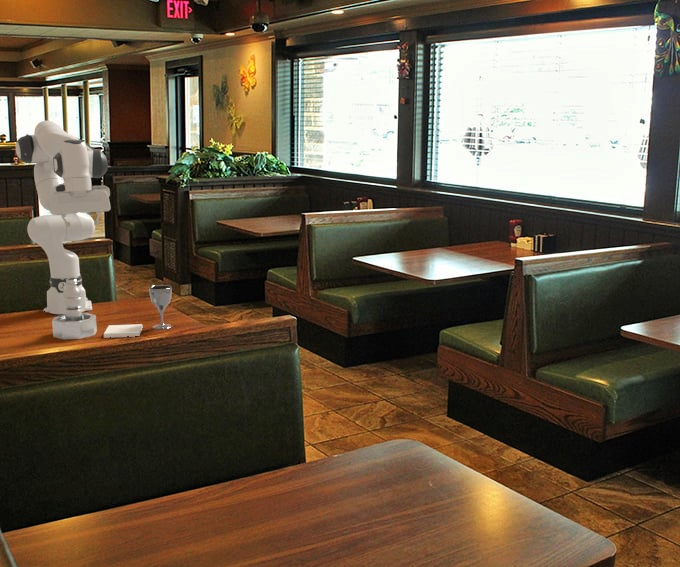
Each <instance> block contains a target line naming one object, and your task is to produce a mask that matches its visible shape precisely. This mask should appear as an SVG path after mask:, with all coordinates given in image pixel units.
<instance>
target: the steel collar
mask: <svg viewBox="0 0 680 567" xmlns="http://www.w3.org/2000/svg"><path fill="white" fill-rule="evenodd" d="M82 319H83V320H81V321H68V322H66V314H59V315H57V316H54V317H53V319H52V320H51V325H52V336H53V338H56V339H59V340H80V339H81V340H82V339H84V338H85V339H86V338H89V337H93V336H95V335H96V333H97V332H98V327H97V315H96V314H92V313H89V312H82Z"/></svg>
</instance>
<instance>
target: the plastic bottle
mask: <svg viewBox="0 0 680 567" xmlns="http://www.w3.org/2000/svg"><path fill="white" fill-rule="evenodd" d="M76 284H77V279H76V278H69V279H66V285H67V287H66V288H65V290H64V292H63V297H64V302H65V309H66V322H68V321H81V320H83V319H82V313H83V312H81V299H82V293H81V290H80V289H79V288H78V286H77V285H76Z"/></svg>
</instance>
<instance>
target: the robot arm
mask: <svg viewBox="0 0 680 567" xmlns="http://www.w3.org/2000/svg"><path fill="white" fill-rule="evenodd" d="M33 132H34V134H28V133H27V134H26V135H24V136H21V137H19V138H18V139H17V140H16V144H15V153H16V156H17V157H18V158H19V161H20V162H22V163H24V164H32V163H34V164H35V165H34V167H33V177H34V178H33V179H34V183H35V189H36V191H37V192H36V193H37V196H38V200H39V204H40V205H41V206H42V208H43V209H45V210H46V211H49V213H50V214H46V215H40V216H36V217H33V218H30V220H29V222H28V224H27V229H26V231H27V234H28V237H29V238H30V240H31V241H32V242H34V243H36V244H37V245H39V247H41V248H42V250H43V251H44V252H45V254H46V257H47V259H48V264H49V272H50V277H49V286H50V288H48V290H47V291H46V303H47V305H46V307H44V308H43V312H44V311H45V312H44V313H50V314H54V315H65V314H66V309H65V302H64V297H63V292H64V290H65V288H66V287H67V285H66V279H69V278H76V279H77V284H76V285H77V286H78V288H79V289H80V290H81V293H82V299H81V312H82V313H84V312H86V311H88V312H89V311H92V310H93V306H92V301H91V300H89V298H88V297H87V295H86V289H85V287H84V286H83V278H82V274H81V273H80V272H81V271H80V270H81V269H80V258H79V256H78V255H77V254H76V253H75V252H73V251H71V250H68V249H67V248H65V247H64V244H63V243H65V242H66V243H69V242H77V241H78V242H79V241H84V240H87V239H90V238H92V237H93V235H94V234H95V230H96V226H99V220H100V217H101V215H102V213H103V212H109V211H111V202H110V197H111V190H110V188H109V187H108V186H106V185H105V184H102V185H93V184H92V178H94V179H100V178H102V177H103V176H104V175H106V173H107V171H108V168H109V167H108V159H107V158H108V157H107V156H106V155H105V154H104V152H103V151H101V150H100V149H95V148H94V147H92V146H91V145H90V144H88V143H87V142H86V141H84V140H83V139H81V138H79V137H76V136H75V135H71V134H70V133H68V132H67V131H65V130H64V129H63V128H62V127H61V126H60V125H59V124H57V123H55V122H54V121H52V120H42V121H39V122H38V124H37V125H35V128H34V131H33ZM88 213H96V216H97V217H96V219H93V218H92V217H91V215H89V214H88Z"/></svg>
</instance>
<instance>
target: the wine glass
mask: <svg viewBox="0 0 680 567" xmlns="http://www.w3.org/2000/svg"><path fill="white" fill-rule="evenodd" d="M172 289H173V288H172V285H168V284H158V285H151V286H149V290H148V291H149V296H150V297H149V298H150V301H151V303H152V304H153V306H154V307H155V308H157V310H158V312H159V314H160V315H159V316H160V323H159V324H156V325H154V326H152V327H151V328H152V329H154V330H167V329H171V328H172V327H173V325H172V324H168V323H167V324H166V323H164V311H165V309H166V308H167V307H168V305H169V304H170V302H171V300H172V293H173V292H172ZM171 325H172V326H171Z"/></svg>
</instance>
